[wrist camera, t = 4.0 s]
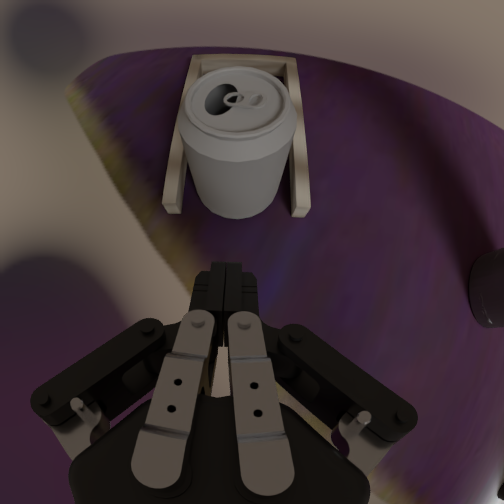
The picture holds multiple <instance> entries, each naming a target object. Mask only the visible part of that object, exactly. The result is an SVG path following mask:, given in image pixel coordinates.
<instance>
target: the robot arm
mask: <svg viewBox="0 0 504 504" xmlns="http://www.w3.org/2000/svg"><path fill="white" fill-rule="evenodd" d="M469 297H470V303H471V308H472V311H473V314H474V316H475V318H476V320H477V321H478V322H479V324H481V325H482V326H483V327H486V328H497V327H504V248H501V249H498V250H495V251H493V252H490V253H487V254H484V255H482V256H480V257H479V258H478V259H477V260H476V261H475V263H474V265H473V268H472V271H471V275H470V280H469ZM223 338H224V347H228V367H229V382H230V396H225V397H219V398H215V397H211V393H212V386H213V380H214V373H215V368H216V361H217V354H218V347H220V346H221V347H222V346H223ZM275 381H276V382H277V383H278V384H279V385H281V386H282V387H283V388H284V389H285V390H286V391H287V392H288V393H289V394H291V395H292V396H293V397H294V398H295V399H296V400H297V401H298V402H300V403H301V404H302V405H303V406H304V407H305V408H306V409H308V410H309V411H310V412H311V413H312V414H313V415H315V416H316V417H317V418H318V419H319V420H321V421H322V422H323V423H324V424H325V425H327V426H328V427H329V428H330V429H331V430H332V432H331V441H332V443H333V444H334V446H335V447H336V448H337V449H338V450H337V449H336V448H335V447H333V446H332V445H331V444H330V443H329V442H328V441H327V440H326V439H324V438H323V437H322V436H321V435H320V434H319V433H318V432H317V431H316V430H314V429H313V428H312V427H311V426H310V425H309V424H308V423H307V422H306V421H305V420H304V419H303V418H302V417H301V416H300V415H298V414H297V413H296V412H295V411H294V410H293V409H291V408H290V407H288V406H286V405H284V404H282V403H280V402H279V400H278V394H277V389H276V384H275ZM153 388H155V391H154V394H153V397H152V399H149V400H147V401H146V402H144V403H142V404H141V405H140V406H138V407H137V408H136V409H135V410H134V411H132V412H131V413H130V414H129V415H127V416H126V417H125V418H124V419H123V420H121V421H120V422H119V423H118V424H116V425H115V426H114V427H113V428H111V429H110V421H111V420H113V419H114V418H115V417H117V416H118V415H119V414H121V413H122V412H123V411H125V410H126V409H127V408H129V407H130V406H131V405H133V404H134V403H135V402H137V401H138V400H139V399H141V398H142V397H143V396H144V395H146V394H147V393H148V392H150V391H151V390H152V389H153ZM30 402H31V407H32V409H33V411H34V412H35V413H36V414H37V415H38V416H39V417H40V418H42V419H43V421H44V422H45V423H46V424H47V425H48V426H49V427H50V428H51V429H52V430H53V432H54V433H55V435H56V437H57V438H58V440H59V442H60V443H61V445H62V446H63V448H64V449H65V451H66V452H67V454H68V455H69V457H70V458H71V459H72V463H71V465H70V468H69V474H68V475H69V476H68V477H69V484H70V488H71V491H72V494H73V497H74V500H75V504H368V502H369V498H370V485H369V481H368V479H367V476H368V475H369V474H370V472H371V471H372V470H373V469H374V468H375V467H376V465H377V464H378V463H379V462H380V461H381V459H382V458H383V457H384V456H385V454H386V453H387V452H388V450H389V449H390V448H391V447H392V446H393V445H394V444H395V443H397V442H398V441H399V440H400V439H402V438H403V437H404V436H405V435H406V434H408V433H409V432H410V431H411V430H412V429H413V428H414V427H415V426H416V424H417V421H418V415H417V412H416V410H415V408H414V407H413V406H412V405H411V404H409V403H408V402H407V401H405V400H404V399H402V398H401V397H399V396H398V395H397V394H395V393H394V392H392V391H391V390H390V389H388V388H387V387H385V386H384V385H383V384H381V383H380V382H379V381H377V380H376V379H374V378H373V377H372V376H370V375H369V374H368V373H366V372H365V371H363V370H362V369H361V368H359V367H358V366H357V365H355V364H354V363H353V362H351V361H350V360H349V359H347V358H346V357H344V356H343V355H342V354H340V353H339V352H338V351H336V350H335V349H334V348H332V347H331V346H330V345H328V344H327V343H326V342H324V341H323V340H322V339H320V338H319V337H318V336H317V335H315V334H314V333H313V332H311V331H310V330H309V329H307V328H306V327H304V326H302V325H299V324H289V325H286V326H284V327H283V328H282V329H281V330H280V329H277V328H273V327H270V326H268V325H266V324H265V323H263V322H262V320H261V319H260V317H259V309H258V294H257V279H256V278H255V276H254V275H253V273H249V272H242V262H227V273H226V262H212V264H211V270H210V271H201V272H200V273H199V274H198V275H197V276H196V278H195V283H194V287H193V292H192V297H191V302H190V306H189V311H188V313H186V314H185V315H184V317H183V318H182V321H180V322H178V323H175V324H170V325H165V326H163V324H162V323H161V322H160V321H159V320H157V319H154V318H146V319H142V320H140V321H138V322H137V323H135V324H134V325H132V326H131V327H129V328H128V329H126V330H125V331H123V332H122V333H120V334H119V335H117V336H115V337H114V338H112V339H111V340H109V341H108V342H106V343H105V344H103V345H102V346H100V347H99V348H97V349H96V350H94V351H93V352H91V353H90V354H88V355H87V356H85V357H83V358H82V359H80V360H79V361H78V362H76V363H74V364H73V365H71V366H70V367H68V368H67V369H65V370H64V371H62V372H61V373H60V374H58V375H56V376H55V377H53V378H52V379H50V380H49V381H47V382H46V383H44V384H43V385H41V386H40V387H38V388H37V389H36V390H35V391H34V392H33V394H32V396H31V400H30Z"/></svg>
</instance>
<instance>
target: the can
mask: <svg viewBox="0 0 504 504" xmlns="http://www.w3.org/2000/svg"><path fill="white" fill-rule="evenodd" d="M296 125H297V113H296V110H295V108H294V105H293V102H292V101H291V98H290V95H289V93H288V90H287V88H286V87H285V86H284V85H283V84H282V83H281V81H280V80H279V79H277V78H276V77H274V76H272V75H271V74H269V73H267V72H265V71H262V70H259V69H256V68H252V67H242V66H234V67H225V68H220V69H217V70H214V71H211V72H208V73H207V74H205V75H203V76H202V77H200V78H199V79H197V80H196V81H195V82H194V83H193V84H192V85H191V87H190V88H189V89H188V91H187V93H186V96H185V99H184V101H183V103H182V105H181V108H180V110H179V113H178V129H179V133H180V136H181V140H182V143H183V147H184V150H185V154H186V157H187V160H188V164H189V167H190V170H191V174H192V177H193V180H194V184H195V187H196V190H197V193H198V195H199V197H200V199H201V201H202V203H203V204H204V205H205V206H206V207H207V208H208V209H209V210H211V211H212V212H213V213H215V214H218V215H220V216H222V217H225V218H233V219H242V218H248V217H252V216H254V215H256V214H258V213H260V212H262V211H264V210H265V209H266V208H267V207H268V206H269V205H270V204H271V203H272V201H273V199H274V197H275V195H276V193H277V190H278V187H279V184H280V180H281V177H282V174H283V170H284V167H285V164H286V160H287V157H288V154H289V151H290V147H291V144H292V141H293V137H294V134H295V131H296Z"/></svg>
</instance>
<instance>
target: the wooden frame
mask: <svg viewBox="0 0 504 504" xmlns="http://www.w3.org/2000/svg"><path fill="white" fill-rule="evenodd" d="M234 66H242V67H252V68H256V69H259V70H262V71H265V72H267V73H269V74H271V75H272V76H282V77H284V86H285V87H286V88H287V90H288V93H289V95H290V98H291V101H292V102H293V105H294V108H295V110H296V113H297V125H296V131H295V134H294V137H293V141H292V144H291V147H290V151H289V167H290V191H291V217H305V215H306V214H307V212H308V211H309V209H310V208H311V204H310V188H309V174H308V161H307V149H306V139H305V129H304V119H303V110H302V102H301V94H300V86H299V78H298V71H297V64H296V58H291V57H281V56H269V55H251V54H203V55H193V56H192V60H191V63H190V67H189V70H188V74H187V78H186V82H185V86H184V90H183V94H182V98H181V102H180V106H179V110H180V108H181V105H182V103H183V101H184V99H185V96H186V93H187V91H188V89H189V88H190V87H191V85H192V84H193V83H194V82H195V81H196V80H197V79H199V78H200V77H202V76H203V74H207V73H208V72H211V71H214V70H217V69H220V68H225V67H234ZM178 113H179V111H178ZM187 162H188V160H187V157H186V154H185V150H184V147H183V143H182V140H181V136H180V133H179V129H178V115H177V120H176V124H175V129H174V134H173V139H172V144H171V150H170V155H169V161H168V166H167V172H166V179H165V185H164V192H163V199H162V204H163V206H164V207H165V209H166V210H167V212H168V214H181V210H182V201H183V193H184V184H185V177H186V169H187Z"/></svg>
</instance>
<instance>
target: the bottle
mask: <svg viewBox="0 0 504 504" xmlns="http://www.w3.org/2000/svg"><path fill="white" fill-rule="evenodd" d="M498 498H500V499H502V500H504V483H503V485H502V486H501V488H500V490H499V493H498Z"/></svg>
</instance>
